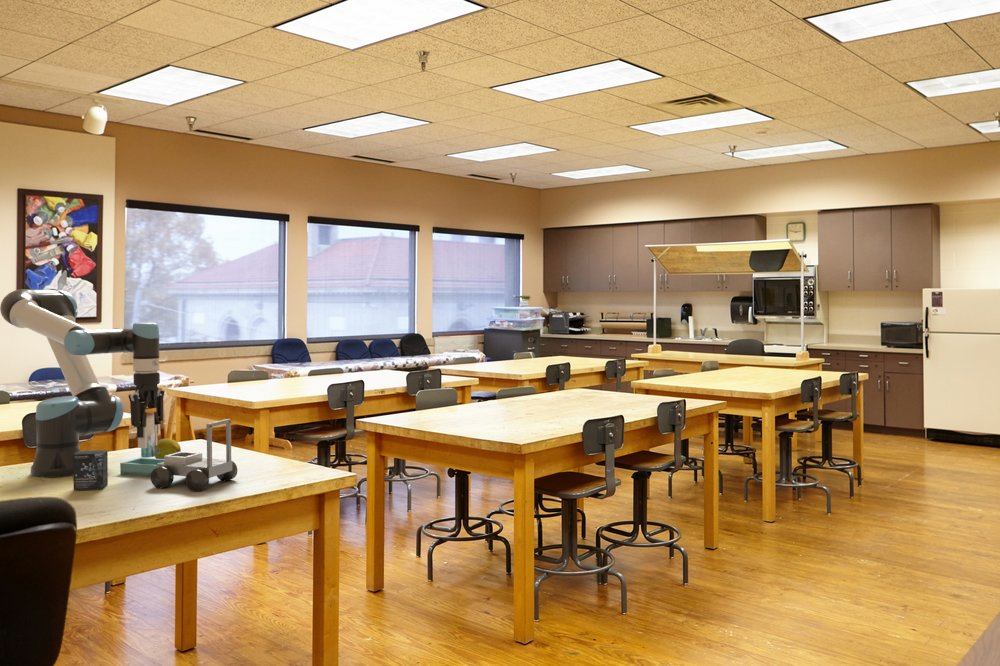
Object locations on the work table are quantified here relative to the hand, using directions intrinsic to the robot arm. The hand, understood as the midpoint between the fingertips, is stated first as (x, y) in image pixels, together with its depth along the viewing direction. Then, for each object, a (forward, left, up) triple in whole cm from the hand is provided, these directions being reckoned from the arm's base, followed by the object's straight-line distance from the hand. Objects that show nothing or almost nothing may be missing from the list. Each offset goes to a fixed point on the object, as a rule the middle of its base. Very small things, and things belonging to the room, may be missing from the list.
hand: (147, 446), depth 253 cm
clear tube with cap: (0, 0, -3) cm, 3 cm away
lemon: (-5, +15, -9) cm, 18 cm away
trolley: (+24, -8, -8) cm, 27 cm away
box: (-1, -22, -9) cm, 24 cm away
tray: (0, 0, -8) cm, 8 cm away
